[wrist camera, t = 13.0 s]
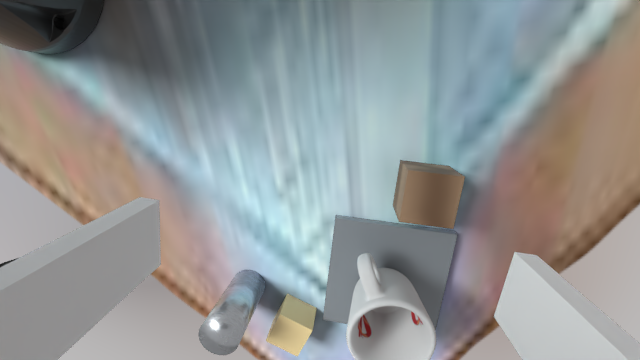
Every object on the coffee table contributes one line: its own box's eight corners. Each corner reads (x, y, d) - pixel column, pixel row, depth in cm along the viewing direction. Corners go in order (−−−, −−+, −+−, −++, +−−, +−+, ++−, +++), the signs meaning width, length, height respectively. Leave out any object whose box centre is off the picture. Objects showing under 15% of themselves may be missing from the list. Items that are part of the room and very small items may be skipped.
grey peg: (232, 296, 39) (198, 351, 31) (233, 267, 38) (198, 316, 30) (264, 301, 39) (238, 358, 30) (265, 272, 38) (240, 322, 29)
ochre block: (274, 317, 40) (265, 340, 36) (287, 293, 39) (280, 314, 35) (302, 331, 40) (297, 356, 36) (316, 307, 39) (312, 330, 35)
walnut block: (392, 204, 35) (398, 221, 30) (400, 160, 33) (408, 170, 28) (439, 210, 34) (453, 228, 29) (448, 165, 33) (464, 176, 28)
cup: (328, 248, 35) (320, 289, 28) (396, 225, 34) (409, 262, 26) (362, 327, 37) (364, 386, 30) (428, 309, 36) (449, 366, 28)
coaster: (323, 314, 39) (322, 319, 38) (336, 214, 35) (335, 218, 34) (431, 331, 38) (433, 337, 37) (454, 231, 34) (457, 234, 33)
